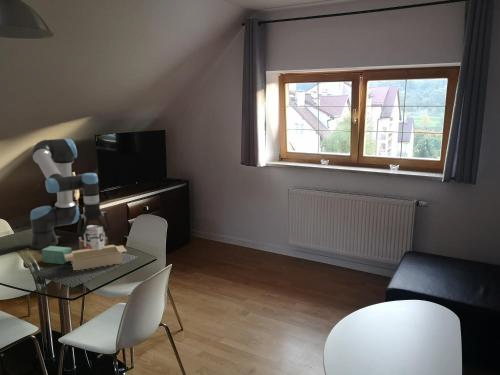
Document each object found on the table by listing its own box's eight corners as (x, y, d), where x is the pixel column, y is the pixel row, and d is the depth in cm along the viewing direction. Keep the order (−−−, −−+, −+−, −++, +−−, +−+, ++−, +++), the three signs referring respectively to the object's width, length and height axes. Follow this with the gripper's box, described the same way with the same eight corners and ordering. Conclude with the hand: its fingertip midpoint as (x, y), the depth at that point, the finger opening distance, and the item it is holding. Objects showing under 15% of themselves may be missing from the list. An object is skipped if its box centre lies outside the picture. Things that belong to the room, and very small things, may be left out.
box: (64, 264, 220) (62, 251, 219) (42, 263, 223) (40, 249, 222) (73, 260, 227) (71, 246, 226) (51, 258, 230) (50, 245, 229)
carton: (64, 263, 222) (63, 249, 221) (121, 253, 236) (120, 240, 235) (67, 274, 206) (66, 260, 205) (129, 263, 220) (128, 249, 219)
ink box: (85, 248, 219) (83, 227, 217) (91, 245, 224) (89, 224, 221) (99, 250, 216) (97, 228, 214) (105, 247, 221) (103, 226, 219)
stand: (80, 254, 236) (78, 237, 234) (105, 250, 243) (104, 233, 241) (82, 259, 228) (80, 242, 226) (108, 255, 234) (107, 238, 232)
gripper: (69, 206, 207) (73, 249, 211) (114, 202, 217) (117, 243, 221) (68, 203, 213) (72, 245, 218) (112, 199, 224) (114, 239, 228)
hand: (95, 244), depth 220 cm, fingers closed on ink box, 9 cm apart
